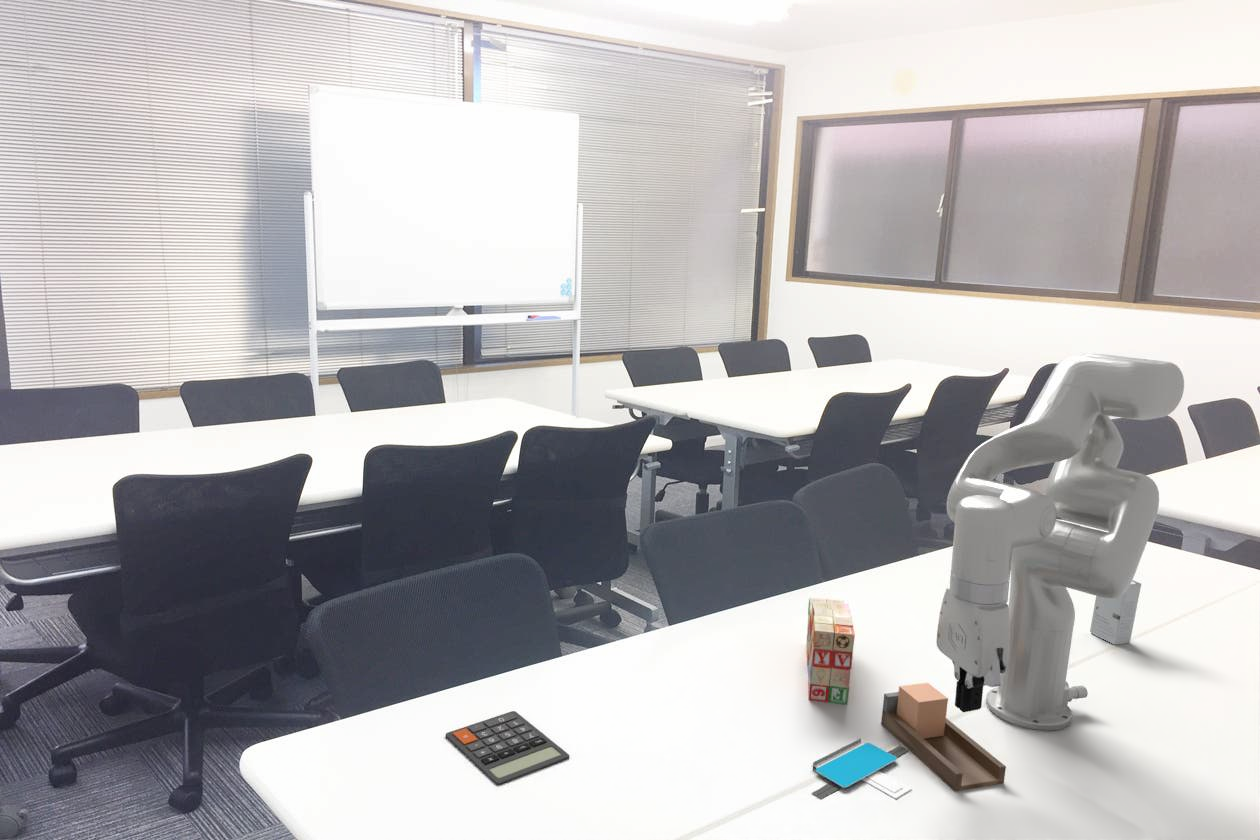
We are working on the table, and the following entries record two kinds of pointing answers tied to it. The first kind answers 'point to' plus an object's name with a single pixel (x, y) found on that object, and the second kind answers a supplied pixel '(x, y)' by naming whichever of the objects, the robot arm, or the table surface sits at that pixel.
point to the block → (922, 709)
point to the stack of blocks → (829, 650)
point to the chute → (946, 751)
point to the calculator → (506, 747)
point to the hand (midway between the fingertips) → (967, 707)
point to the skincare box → (1116, 616)
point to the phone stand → (859, 769)
